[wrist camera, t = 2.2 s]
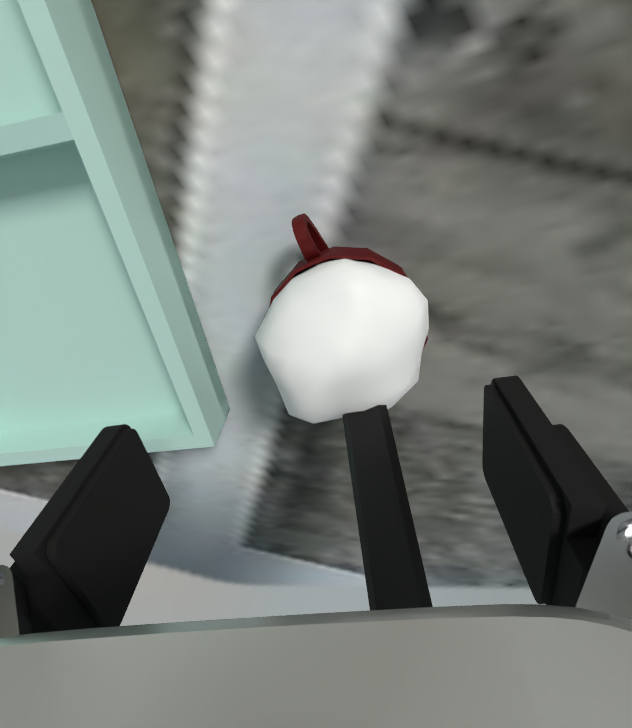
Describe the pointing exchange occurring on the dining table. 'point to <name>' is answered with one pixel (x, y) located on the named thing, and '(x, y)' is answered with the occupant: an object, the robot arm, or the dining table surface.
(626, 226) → the dining table surface
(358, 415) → the cocoa
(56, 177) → the tray
